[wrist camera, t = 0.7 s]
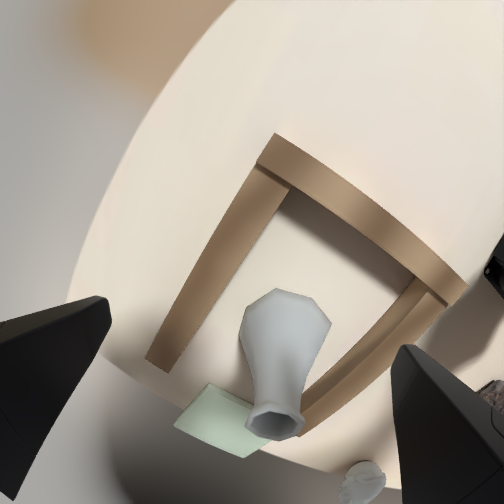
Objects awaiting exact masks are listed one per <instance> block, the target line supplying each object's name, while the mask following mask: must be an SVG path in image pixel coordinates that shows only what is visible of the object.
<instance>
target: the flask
mask: <svg viewBox="0 0 504 504" xmlns="http://www.w3.org/2000/svg"><path fill="white" fill-rule="evenodd" d="M331 324H332V323H331V321H330V320H329V319H328V318H327V316H326V315H325V314H324V313H323V311H322V310H321V309H320V307H319V306H318V305H317V304H316V302H315V301H314V300H313V299H312V298H310V297H306V296H303V295H299V294H295V293H292V292H288V291H284V290H281V289H277V288H275V289H274V290H272V291H271V292H269V293H268V294H266V295H264V296H263V297H261V298H260V299H258V300H257V301H255V302H254V303H252V304H251V305H249V306H247V307H246V311H245V315H244V318H243V322H242V325H241V329H240V333H239V337H240V341H241V344H242V347H243V350H244V352H245V355H246V358H247V362H248V365H249V369H250V372H251V376H252V379H253V384H254V407H253V409H251V411H250V413H249V415H248V418H247V420H246V422H245V426H244V427H245V428H247V429H248V430H249V431H251V432H252V433H253V434H255V435H256V436H257V437H260V438H265V439H269V440H274V441H282V440H285V439H288V438H291V437H294V436H297V435H298V434H299V432H300V431H301V429H302V428H303V426H304V425H305V418H304V417H303V416H302V415H301V414H300V403H301V396H302V392H303V388H304V385H305V381H306V377H307V375H308V373H309V371H310V369H311V367H312V365H313V363H314V360H315V358H316V356H317V354H318V352H319V350H320V348H321V346H322V344H323V342H324V340H325V338H326V336H327V333H328V331H329V329H330V327H331Z"/></svg>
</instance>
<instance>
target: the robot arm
mask: <svg viewBox="0 0 504 504" xmlns="http://www.w3.org/2000/svg"><path fill="white" fill-rule="evenodd" d="M493 255H494V256H493V257H492V259H491V260H490V262H489V263H488V265H487V266H486V268H485V269H484V276H485V277H486V278H487V279H488V281H489V282H490V283H491V284H492V285H493V287H494V288H495V289H496V290H497V291H498V293H499V294H500V295H501V296H502V298H503V299H504V236H503V238H502V239H501V241H500V243H499V244H498V246H497V247H496V249H495V251H494V253H493ZM487 269H489V270H490V271H489V273H488V274H486V270H487ZM111 324H112V318H111V313H110V307H109V302H108V300H107V299H106V298H104V297H101V296H92V297H89V298H85V299H82V300H78V301H74V302H71V303H67V304H64V305H60V306H57V307H53V308H49V309H46V310H42V311H39V312H36V313H32V314H28V315H25V316H21V317H17V318H14V319H10V320H7V321H3V322H0V492H2V493H3V494H4V495H6V496H7V497H8V498H9V499H11V500H12V501H14V499H15V498H16V496H17V494H18V492H19V490H20V487H21V485H22V483H23V481H24V479H25V477H26V475H27V473H28V471H29V469H30V467H31V465H32V463H33V461H34V459H35V457H36V455H37V453H38V452H39V449H40V448H41V446H42V444H43V442H44V440H45V439H46V437H47V435H48V433H49V432H50V430H51V428H52V426H53V425H54V423H55V421H56V419H57V418H58V416H59V414H60V413H61V411H62V409H63V407H64V406H65V404H66V403H67V401H68V399H69V398H70V396H71V394H72V393H73V391H74V390H75V388H76V386H77V385H78V383H79V382H80V380H81V378H82V377H83V375H84V374H85V372H86V371H87V369H88V367H89V366H90V364H91V363H92V361H93V359H94V357H95V356H96V354H97V352H98V350H99V348H100V346H101V344H102V342H103V340H104V338H105V336H106V335H107V333H108V331H109V329H110V327H111ZM391 386H392V403H393V417H394V424H395V431H396V438H397V446H398V454H399V463H400V474H401V486H402V502H403V504H504V415H503V414H502V413H501V412H499V411H498V410H497V409H496V408H494V407H493V406H491V405H490V404H489V403H488V402H487V401H486V400H484V399H483V398H482V397H481V396H479V395H478V394H477V393H476V392H474V391H473V390H472V389H471V388H469V387H468V386H467V385H466V384H464V383H463V382H462V381H461V380H459V379H458V378H457V377H456V376H454V375H453V374H452V373H450V372H449V371H448V370H447V369H445V368H444V367H443V366H441V365H440V364H439V363H438V362H436V361H435V360H434V359H432V358H431V357H430V356H429V355H427V354H426V353H425V352H423V351H422V350H421V349H419V348H418V347H417V346H416V345H413V344H403V345H401V346H400V348H399V350H398V352H397V354H396V357H395V359H394V361H393V363H392V366H391Z"/></svg>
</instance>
